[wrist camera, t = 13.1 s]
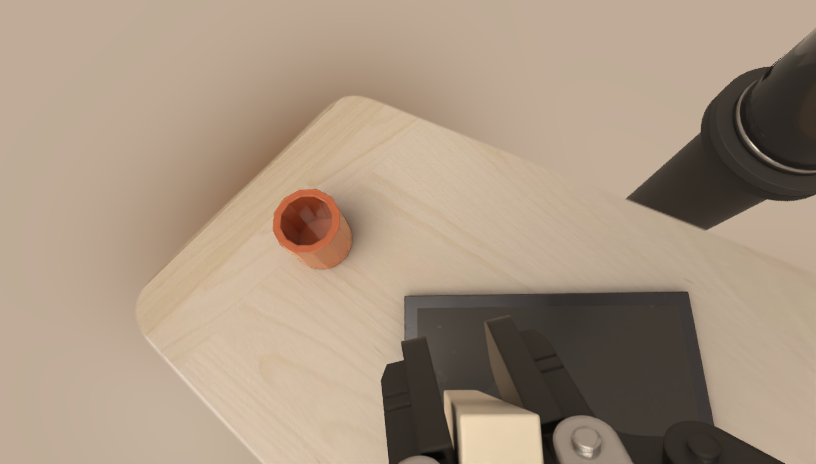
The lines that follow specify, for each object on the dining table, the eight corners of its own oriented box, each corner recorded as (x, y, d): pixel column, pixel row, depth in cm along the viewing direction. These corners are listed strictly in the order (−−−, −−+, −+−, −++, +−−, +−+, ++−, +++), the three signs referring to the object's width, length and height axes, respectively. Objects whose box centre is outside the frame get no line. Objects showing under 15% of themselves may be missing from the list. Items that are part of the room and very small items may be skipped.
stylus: (475, 389, 21) (540, 413, 8) (477, 424, 20) (548, 504, 8) (443, 389, 21) (459, 414, 8) (444, 424, 20) (463, 504, 8)
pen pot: (353, 212, 39) (340, 188, 34) (351, 268, 37) (338, 252, 32) (296, 214, 39) (275, 190, 34) (292, 269, 38) (270, 253, 32)
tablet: (681, 293, 35) (689, 291, 34) (725, 525, 31) (736, 530, 30) (405, 297, 36) (404, 295, 35) (406, 522, 32) (405, 527, 31)
